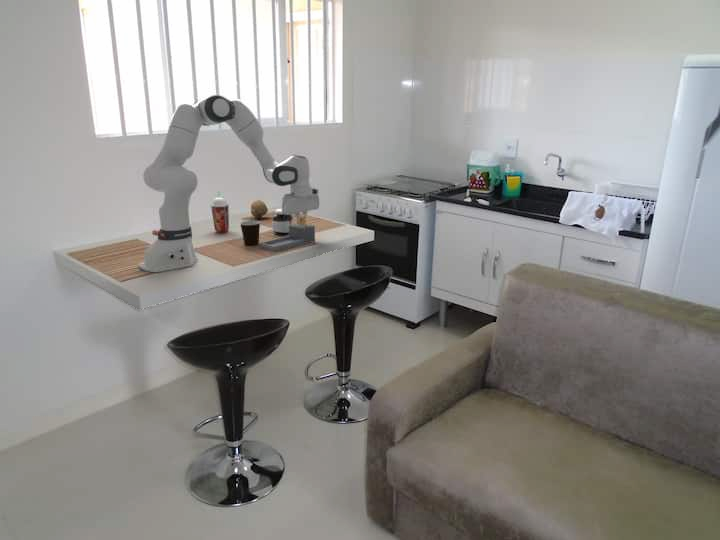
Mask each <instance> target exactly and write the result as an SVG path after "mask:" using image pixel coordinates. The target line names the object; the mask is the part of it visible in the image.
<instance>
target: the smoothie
mask: <svg viewBox="0 0 720 540" xmlns="http://www.w3.org/2000/svg"><path fill="white" fill-rule="evenodd" d="M217 193H218V194H217V196H216V197H215V198H214V199H213V200H212V202H211V204H210V206H211V207H210V208H211V214H212V219H213V227H214V230H215V232H216V233H217V234H223V233H228V232H229V229H230V223H229V221H230V219H229V218H230V217H229V215H230V213H229V212H230V211H229V210H230V209H229V203H228V201H227V200H226V199H225V198H224V197H222V196H221V194H220V191H217Z"/></svg>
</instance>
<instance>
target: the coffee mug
mask: <svg viewBox="0 0 720 540" xmlns="http://www.w3.org/2000/svg"><path fill="white" fill-rule="evenodd" d="M260 223H261V222H260V221H258V220H244V221H241V222H240V229H241V233H242V239H243V244H244V246H246V247H255V246H259V245H260V228H261V227H260V226H261V224H260Z"/></svg>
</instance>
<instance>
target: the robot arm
mask: <svg viewBox="0 0 720 540" xmlns="http://www.w3.org/2000/svg"><path fill="white" fill-rule="evenodd" d="M222 123H226V124H227V125H228V126H229V128H230V129H231V130H232V131H233V134H235V136H236V137H237V138H238V139H239V140H240V142H242V143H243V144H244V146H245V147H247V148H248V149H249V150H250V152H251V153H252V154H253V155H254V157H255V158H256V160H257V161H258V163H259V164H260V166H261V168H262V172H263V176H264V178H265V179H266V180H267V182H269V183H271V184H275V185H276V186H279V187H284V186H289V185H290V192H289V193H285V194H284V195H283V196H282V201H281V209H282V213H283V214H285V215H290V214H291V215H293V214H294V215H295V217H296V223H297V222H302V218H300V216H303V217H306V218H307V215H308V212H310V211H315V210H318V209H320V196H319V189H318V188H315V187H311V183H310V177H311V176H310V175H311V171H310V163H309V160H308V158H307V157H306V156H303V155H298V154H292V155H291V156H290V157H288V158H287V159H285V160H284V161H281V162H280V161H278V160H276V159H275V158H274V157H273V155H272V154H271V153H270V151H269V149H268V148H267V146H266V145H265V142H264V138H263V137H264V129H263V126H261V123H260V121H259V120H258V119H257V117H256V116H255V114H254V113H253V112H252V111H251V109H250V108H249V107H248V106H247V105H246V104H245V102H243V101H242V100H241V99H237V98H235V99H231V100H230V99H228V98H227V97H225V96H223V95H221V94H213V95H207V96H204V97H202V98H200V99H199V100H197V101H196V102H194V103H193V104H192V103H186V102H185V103H180V104H179V105H178V106H177V107H176V109H175V111H174V113H173V116H171V120H170V123H169V127H168V129H167V133H166V137H165V140H164V143H163V145H162V148H161V150H160V152H159V153H158V154H157V157H156V158H155V160H154V161H153V162H152V163H151V164H150V165H149V166H147V167H146V168H145V170H144V171H143V175H142V176H143V182H144V184H145V185H146V186H147V187H148V188H149V189H152V190H153V191H155V192H158V193H159V192H160V193H164V200H163V204H162V205H161V206H160V207H159V209H158V215H159V222H160V224H159V225H160V229H159V230H156V229H153V230H152V235H153V236H154V237H155V236H156V237H157V239H156V240H155V241H154V242H153V243H152V244H151V245H150V246H148V248H147V249H145V252H144V261H142V262H139V264H138V266H139V268H140V270H143V271H146V272H150V273H160V272H166V271H171V270H176V269H182V268H187V267H193V266H194V264H195V263H196V262H197V261H198V257H197V255H196V252H195V248H194V245H193V240H192V239H193V232H192V226H190V225H191V223H190V213H189V206H190V200H191V196H192V194H193V193H194V192H195V191H196V189H197V187H198V182H199V181H198V177H197V174H196V173H195V172H194V171H193V170H192V169H189V168H187V167H185V166H183V165H184V164H185V163H186V162H187V161H188V160H189V159H190V158H192V156H193V154H194V152H195V151H194V150H195V148H196V144H197V140H198V137H199V132H200V129H201V127H202V126H205V127H208V126H216V125H218V124H222ZM301 213H302V214H301Z"/></svg>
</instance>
